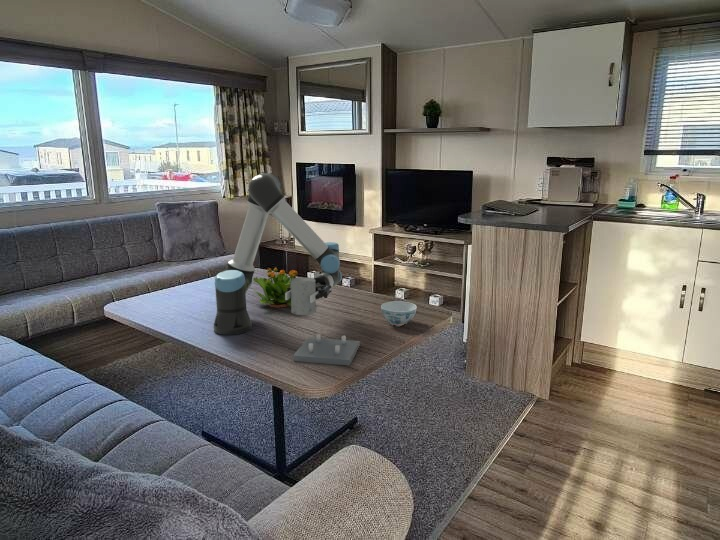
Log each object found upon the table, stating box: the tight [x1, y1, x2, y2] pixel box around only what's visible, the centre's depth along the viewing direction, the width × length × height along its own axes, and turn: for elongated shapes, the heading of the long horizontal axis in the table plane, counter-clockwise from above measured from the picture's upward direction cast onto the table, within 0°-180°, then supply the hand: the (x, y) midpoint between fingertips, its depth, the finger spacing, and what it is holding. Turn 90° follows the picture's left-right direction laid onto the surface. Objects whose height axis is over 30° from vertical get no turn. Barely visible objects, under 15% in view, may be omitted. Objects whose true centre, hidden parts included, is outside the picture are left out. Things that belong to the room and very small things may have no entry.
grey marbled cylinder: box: [290, 277, 317, 316], centre depth 190 cm, size 10×10×12 cm
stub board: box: [292, 333, 361, 366], centre depth 178 cm, size 20×18×5 cm
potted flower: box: [252, 267, 298, 309], centre depth 234 cm, size 25×24×18 cm
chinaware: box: [380, 300, 418, 325], centre depth 209 cm, size 15×15×8 cm
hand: (298, 297), depth 185 cm, fingers closed on grey marbled cylinder, 9 cm apart
